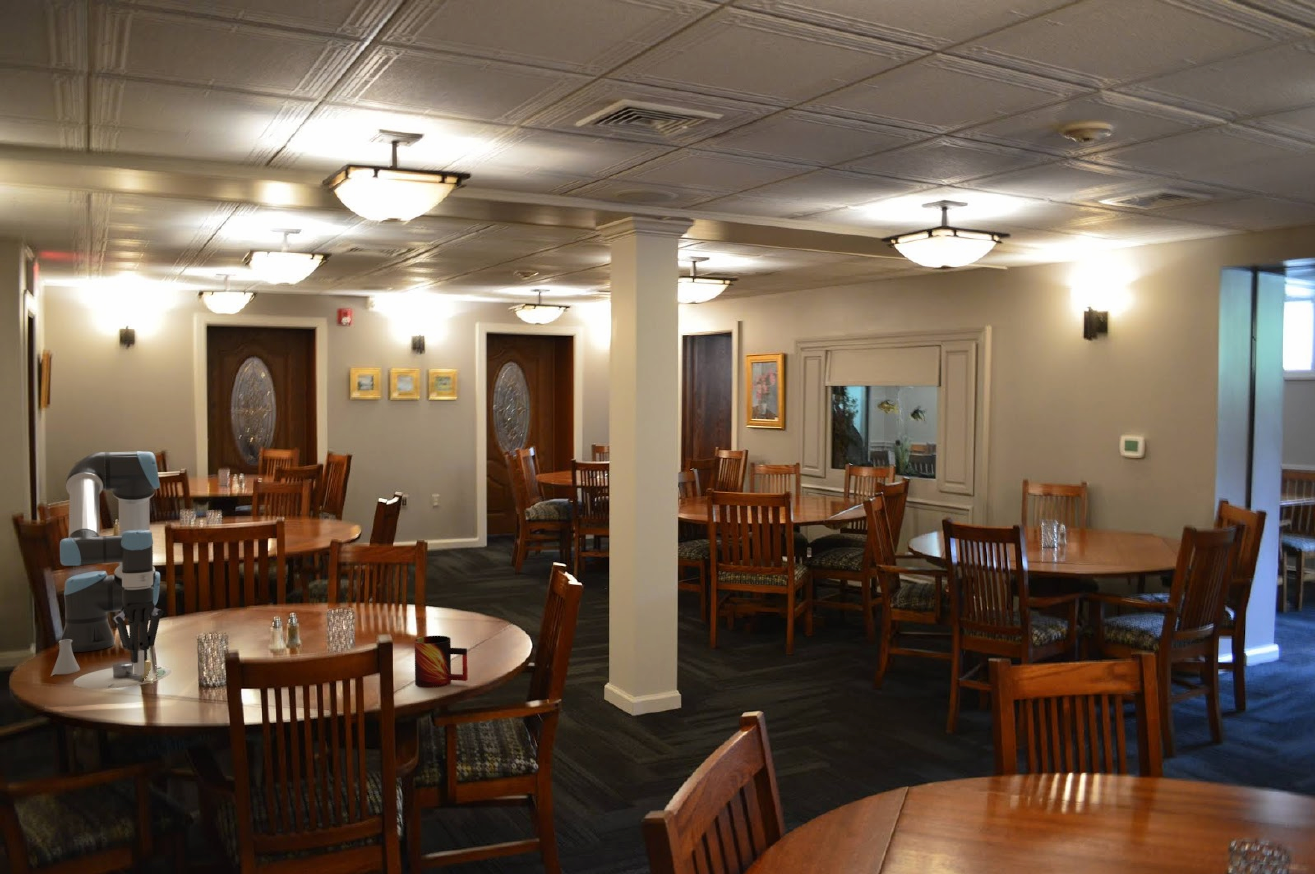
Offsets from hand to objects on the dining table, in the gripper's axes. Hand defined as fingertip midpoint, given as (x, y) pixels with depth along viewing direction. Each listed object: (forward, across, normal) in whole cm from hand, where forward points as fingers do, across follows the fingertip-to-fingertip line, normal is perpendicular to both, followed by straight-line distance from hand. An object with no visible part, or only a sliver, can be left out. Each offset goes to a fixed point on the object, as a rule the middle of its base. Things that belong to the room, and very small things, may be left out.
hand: (139, 673), depth 272 cm
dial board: (+3, +1, +10) cm, 10 cm away
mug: (+4, +50, -64) cm, 81 cm away
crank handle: (+2, +1, +6) cm, 6 cm away
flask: (+4, -6, +29) cm, 30 cm away
